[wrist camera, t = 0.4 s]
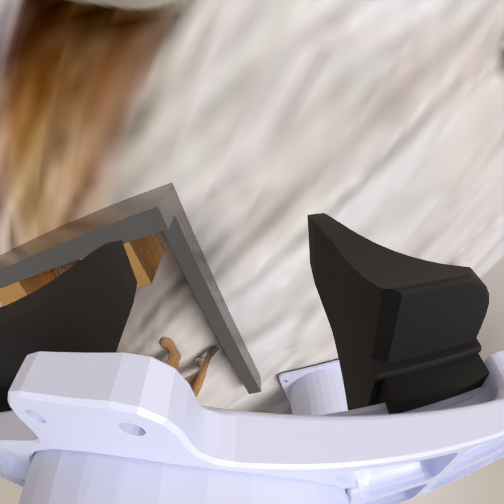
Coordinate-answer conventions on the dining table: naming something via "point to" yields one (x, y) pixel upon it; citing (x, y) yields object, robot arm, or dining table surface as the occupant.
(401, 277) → the robot arm
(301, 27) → the dining table surface
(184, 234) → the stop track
